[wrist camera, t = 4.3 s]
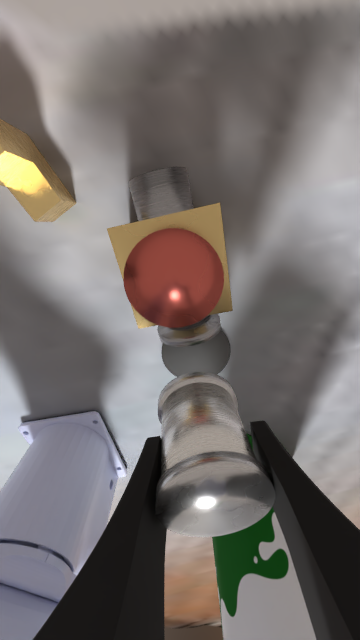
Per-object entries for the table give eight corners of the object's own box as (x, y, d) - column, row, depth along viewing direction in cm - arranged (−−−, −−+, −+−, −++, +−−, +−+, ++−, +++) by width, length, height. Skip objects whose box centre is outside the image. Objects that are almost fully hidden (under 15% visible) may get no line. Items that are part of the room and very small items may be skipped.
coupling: (241, 418, 13) (281, 520, 9) (172, 437, 14) (177, 547, 9) (225, 361, 11) (266, 454, 7) (146, 385, 12) (136, 490, 7)
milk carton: (243, 422, 21) (611, 1559, 3) (305, 457, 24) (732, 1249, 5) (189, 468, 24) (223, 1208, 6) (249, 496, 27) (405, 1098, 8)
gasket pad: (233, 373, 19) (233, 375, 19) (170, 384, 19) (170, 385, 19) (225, 315, 17) (225, 316, 17) (154, 329, 17) (154, 330, 17)
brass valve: (220, 311, 17) (246, 365, 10) (156, 323, 17) (144, 383, 11) (201, 172, 13) (221, 125, 7) (120, 191, 13) (69, 165, 7)
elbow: (76, 203, 14) (39, 196, 10) (53, 221, 14) (9, 221, 10) (27, 134, 12) (-37, 98, 9) (3, 157, 13) (-67, 131, 9)
